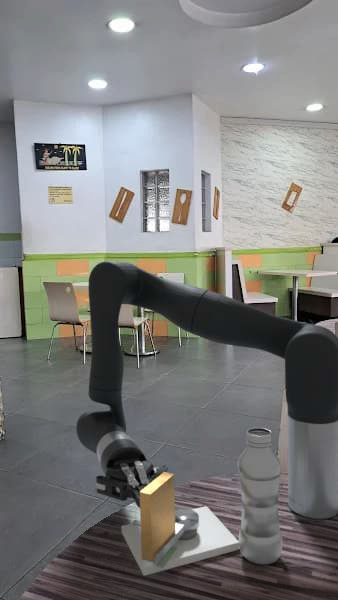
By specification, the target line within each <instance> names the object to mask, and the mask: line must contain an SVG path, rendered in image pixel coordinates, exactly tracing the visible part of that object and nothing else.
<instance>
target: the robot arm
mask: <svg viewBox="0 0 338 600" xmlns="http://www.w3.org/2000/svg"><path fill="white" fill-rule="evenodd" d="M88 299H89V300H88V303H89V314H90V315H89V316H90V317H89V318H90V331H91V332H90V335H91V336H90V337H91V357H90V358H91V359H90V368H89V369H90V370H89V371H90V372H89V379H88V380H89V382H88V396H89V397H88V398H89V399H90V400H91V401H93V402H95V403H98V404H102V405H105V406H108V407H109V410H97V411H96V410H93V411H92V410H91V411H85V412H83V413H82V414H81V415H80V416H79V417H78V420H77V422H76V427H75V428H76V429H75V431H76V436H77V438H78V440H79V442H80V443H81V445H82V446H83V447H85V448H86V449H87V450H90V451H91V452H92V453H94V454H95V455H96V456H97V460H98V465H99V467H100V468H101V469H102V472H103V474H104V475H97V476H96V477H95V478H96V479H95V483H96V493H97V494H100V495H102V496H106V497H109V498H112V499H115V500H118V501H121V502H123V501H127V500H128V498H129V499H131V500H132V501H134V503H135V505H136V506H137V508H139V509H140V491H141V490H142V489H144V488H145V487H146V486H147V485H149V484H150V483H151V482H152V481H153V480H155V479H156V478H157V477H158V476H160V475H161V474H162V473H163V472H166V473H169V470H168V469H169V467H168V466H169V465H168V464H161V465H160V466H159V467H154V464H153V463H152V462H149V461H148V460H147V458H146V456H145V454H144V452H143V451H142V450H141V449H140V447H139V446H138V444H137V443H136V441H135V440H134V439H133V438H132V437H131V436H129V435H128V433H127V423H126V422H127V421H126V419H125V413H124V408H123V407H124V406H123V398H122V396H123V395H122V393H123V392H122V391H123V390H122V389H123V378H124V369H125V368H124V367H125V366H124V365H125V363H124V356H123V350H122V345H121V342H120V336H119V318H120V314H121V313H120V312H121V308H122V305H131V306H135V307H138V308H142V309H146V310H150V311H153V312H155V313H157V314H159V315H161V316H163V317H164V318H165V319H167V321H169V322H171V323H173V325H175V326H177V327H178V328H180V329H182V330H183V331H185V332H187V333H190V334H191V335H194V336H197V337H200V338H203V339H204V340H209V341H211V342H214V343H218V344H223V345H226V346H227V345H228V346H235V347H241V348H247V349H248V348H250V349H256V350H260V351H264V352H267V353H270V354H272V355H274V356H277V357H278V358H281V359H284V378H285V379H284V384H285V387H284V388H285V390H284V391H285V401H286V405H287V505H288V507H289V509H290V510H292V511H293V512H294V513H296V514H298V515H300V516H302V517H305V518H309V519H315V520H316V519H317V520H324V519H330V518H333V517H335V516H337V515H338V336H337V335H336V334H335V333H334V332H333V331H332V330H330V329H329V328H326V327H325V326H321V325H316V324H311V323H308V322H303V321H298V320H294V319H290V318H286V317H281V316H278V315H275V314H272V313H269V312H267V311H264V310H262V309H260V308H257V307H255V306H252V305H250V304H248V303H245V302H242V301H240V300H237V299H234V298H232V297H230V296H227V295H224V294H221V293H218V292H215V291H212V290H209V289H206V288H203V287H202V288H201V287H199V286H195V285H191V284H187V283H182V282H178V281H173V280H168V279H166V278H163V277H162V276H161V277H160V276H158V275H157V274H154V273H152V272H150V271H147V270H145V269H144V268H141V267H139V266H137V265H135V264H132V263H130V262H127V261H122V260H121V261H119V260H117V261H116V260H105V261H102V262H98V263H97V264H96V265H94V267H93V268H92V269H91V272H90V273H89V278H88ZM117 488H118V490H119V491H118V490H117Z"/></svg>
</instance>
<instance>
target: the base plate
mask: <svg viewBox="0 0 338 600" xmlns="http://www.w3.org/2000/svg"><path fill="white" fill-rule="evenodd" d="M191 510H193V511H195V512H196V513H197V514H198V515H199V526H198V528H197V529H195V530H194V531H191V532H185V533H183V534H182V536H181V537H180V538H179V539H178V540H177V541H176V542H175V543H174V545H173V546H172V547H171V548H170V549H169V550H168V551H167V552H166V554H165V555H164V556H163V557H162V558H161V559H160V560H159V561H158V563H157V564H154V563H151V562H148V561H145V560H142V551H141V519H134V520H133V521H132V522H131V523H128V524H124V525H121V533H122V537H123V538H124V540H125V542H126V543H127V546H128V548H129V550H130V551H131V554H132V555H133V558H134V560H135V562H136V563H137V566H138V567H139V569H140V572H141V574H142V576H144V577H145V576H149V575H152V574H156V573H159V572H163V571H167V570H169V569H174V568H177V567H181V566H185V565H188V564H192V563H195V562H199V561H202V560H206V559H209V558H213V557H217V556H222V555H225V554H227V553H228V554H229V553H231V552H235V551H239V550H240V546H239V539H237V538H236V537H235V536H234V535H233V534H232V533H231V531H230V530H229V529H228V528H227V527H226V525H224V524H223V523H222V521H221V520H220V519H219V518H218V517H217V516H216V514H214V513H213V512H212V510H211V509H210V508H209V507H208V506H207V505H206V506H201V507H197V508H196V507H195V508H193V509H191Z"/></svg>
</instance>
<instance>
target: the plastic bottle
mask: <svg viewBox="0 0 338 600" xmlns="http://www.w3.org/2000/svg"><path fill="white" fill-rule="evenodd" d="M272 436H273V433H272V431H271V430H270V429H268V428H264V427H251V428H248V429H247V431H246V439H245V444H246V445H247V447H246V448H245V449H244V450H243V452H241V454H240V456H239V458H238V461H237V463H236V464H237V465H236V466H237V473H238V474H237V475H238V479H239V480H238V481H239V485H240V493H241V495H240V496H241V516H240V517H241V520H240V527H239V532H238V541H239V550H240V553H241V554H242V555H243V556H244V558H245V559H246V560H247V561H249V562H251V563H252V564H255V565H256V564H257V565H264V566H265V565H271V564H273V563H276V562H277V561H278V559H280V557H281V555H282V552H283V551H282V550H283V545H284V542H283V535H282V530H281V528H280V526H281V525H280V516H279V489H280V482H281V475H282V465H281V462H280V459H279V458H278V456H277V454H276V453H275V452H274V450H273V448H272V446H273V437H272Z"/></svg>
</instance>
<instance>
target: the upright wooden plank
mask: <svg viewBox="0 0 338 600" xmlns="http://www.w3.org/2000/svg"><path fill="white" fill-rule="evenodd" d="M175 492H176V491H175V474H174V473H171V472H168V473H166V472H163V473H162V474H161V475H160V476H158V477H157V478H156V479H155V480H153V481H152V482H151V483H150V484H149V485H147V486H146V487H145V488H144V489H142V490H141V491H140V508H139V512H140V514H139V515H140V517H139V518H140V519H139V520H140V521H141V551H142V560H145V561H148V562H151V563H154V564H157V563H158V561H159V560H160V559H161V558H162V557H163V556H164V555H165V554H166V552H167V551H168V550H169V549H170V548H171V547H172V546H173V545H174V543H175V542H176V541H177V540H178V539H179V538H180V537H181V536H182V534H183V533H185V532H191V531H194V530H195V529H197V528H198V526H199V515H198V514H197V513H196V512H195V511H193V510H192V509H189V508H179V509H176V506H175V505H176V501H175V499H176V498H175V497H176V495H175Z"/></svg>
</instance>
